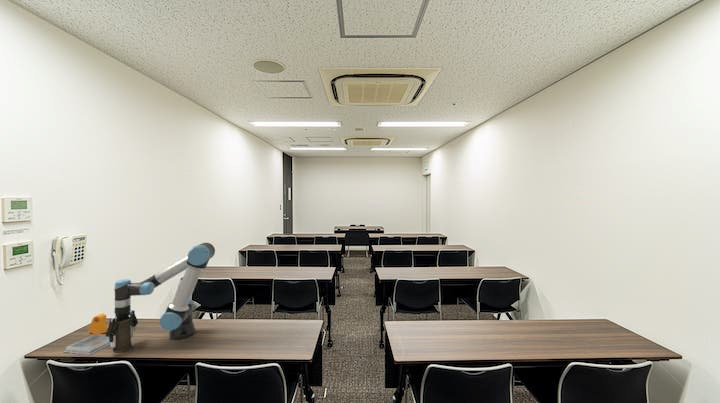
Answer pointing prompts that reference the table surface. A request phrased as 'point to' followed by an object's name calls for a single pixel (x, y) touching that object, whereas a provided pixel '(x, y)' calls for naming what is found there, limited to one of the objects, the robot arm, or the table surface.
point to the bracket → (98, 325)
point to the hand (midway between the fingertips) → (122, 341)
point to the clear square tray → (89, 345)
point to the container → (123, 336)
